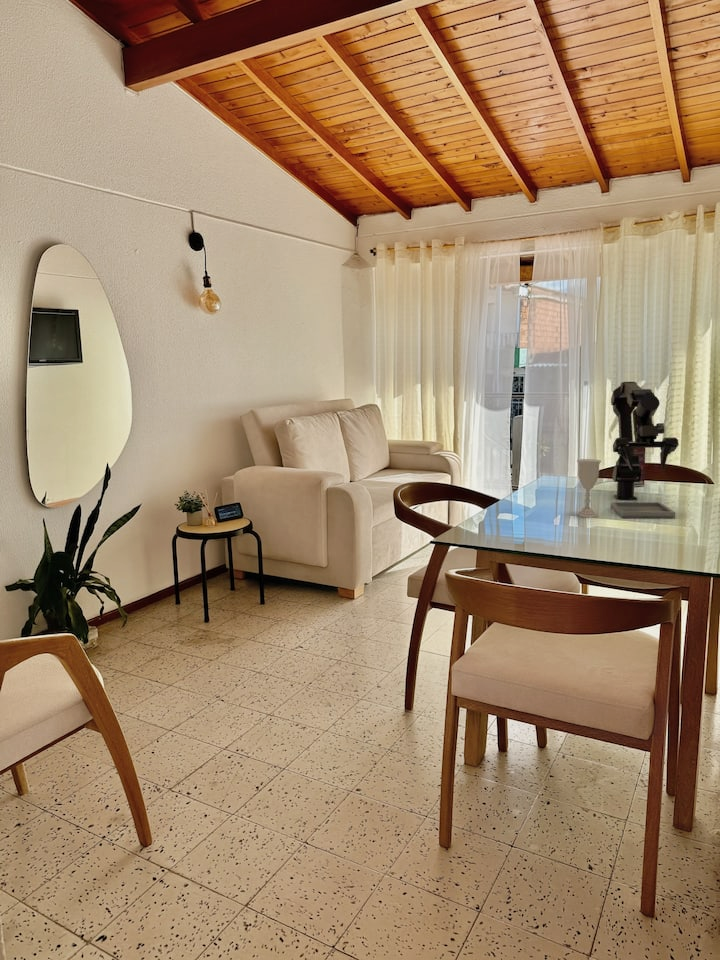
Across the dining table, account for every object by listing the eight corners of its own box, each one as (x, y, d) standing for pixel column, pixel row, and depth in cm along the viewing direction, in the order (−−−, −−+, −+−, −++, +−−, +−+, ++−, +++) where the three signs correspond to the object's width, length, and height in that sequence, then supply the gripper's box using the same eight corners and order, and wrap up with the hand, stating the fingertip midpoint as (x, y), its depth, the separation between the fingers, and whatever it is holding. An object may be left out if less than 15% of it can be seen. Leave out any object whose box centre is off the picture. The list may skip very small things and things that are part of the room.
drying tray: (610, 507, 229) (610, 502, 229) (659, 508, 227) (660, 502, 227) (621, 518, 215) (622, 512, 214) (675, 518, 213) (675, 512, 212)
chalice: (599, 513, 221) (601, 459, 218) (599, 518, 215) (601, 462, 212) (575, 512, 224) (577, 458, 220) (574, 517, 217) (576, 461, 214)
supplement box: (637, 484, 269) (639, 444, 266) (644, 486, 264) (646, 446, 261) (617, 485, 268) (619, 445, 265) (623, 487, 263) (625, 447, 260)
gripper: (617, 413, 213) (621, 459, 208) (680, 413, 210) (686, 459, 205) (610, 429, 223) (614, 473, 218) (671, 428, 220) (676, 473, 215)
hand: (647, 469), depth 214 cm, fingers open, 9 cm apart
